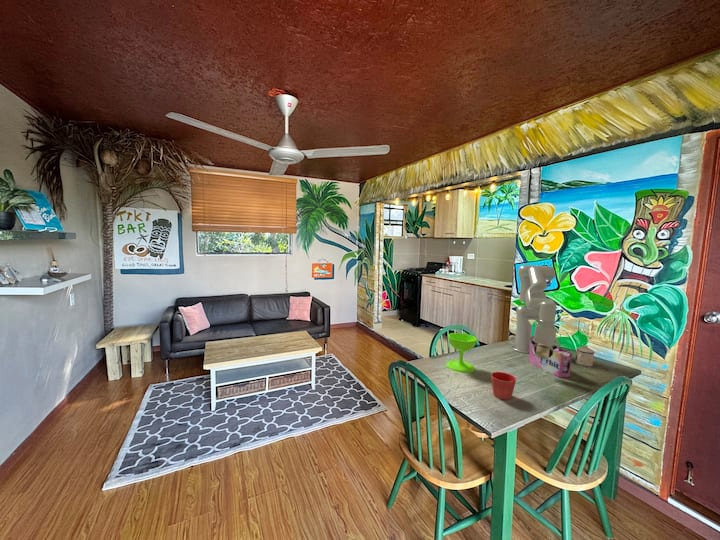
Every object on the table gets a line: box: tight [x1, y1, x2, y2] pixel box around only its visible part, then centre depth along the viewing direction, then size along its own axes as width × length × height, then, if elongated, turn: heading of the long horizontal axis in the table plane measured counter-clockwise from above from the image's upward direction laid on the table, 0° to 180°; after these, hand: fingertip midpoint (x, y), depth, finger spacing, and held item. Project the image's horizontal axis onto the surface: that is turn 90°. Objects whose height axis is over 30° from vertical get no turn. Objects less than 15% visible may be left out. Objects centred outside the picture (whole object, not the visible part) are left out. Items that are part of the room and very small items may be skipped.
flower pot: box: [490, 371, 517, 401], centre depth 141 cm, size 11×11×10 cm
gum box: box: [528, 341, 573, 378], centre depth 174 cm, size 24×8×14 cm, turn 12°
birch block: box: [536, 344, 550, 360], centre depth 165 cm, size 6×6×6 cm
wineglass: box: [446, 332, 478, 374], centre depth 173 cm, size 16×16×18 cm
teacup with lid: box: [575, 345, 595, 367], centre depth 184 cm, size 12×9×12 cm
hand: (543, 354), depth 165 cm, fingers closed on birch block, 6 cm apart
